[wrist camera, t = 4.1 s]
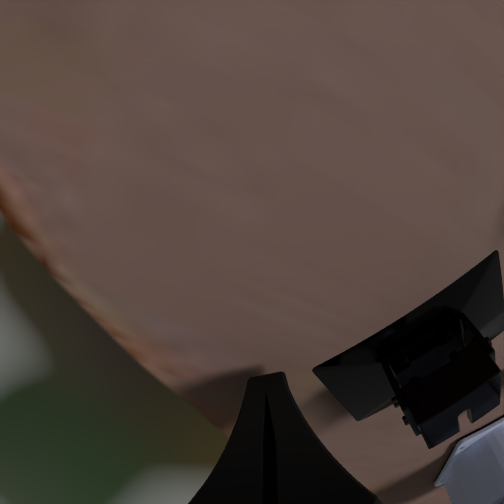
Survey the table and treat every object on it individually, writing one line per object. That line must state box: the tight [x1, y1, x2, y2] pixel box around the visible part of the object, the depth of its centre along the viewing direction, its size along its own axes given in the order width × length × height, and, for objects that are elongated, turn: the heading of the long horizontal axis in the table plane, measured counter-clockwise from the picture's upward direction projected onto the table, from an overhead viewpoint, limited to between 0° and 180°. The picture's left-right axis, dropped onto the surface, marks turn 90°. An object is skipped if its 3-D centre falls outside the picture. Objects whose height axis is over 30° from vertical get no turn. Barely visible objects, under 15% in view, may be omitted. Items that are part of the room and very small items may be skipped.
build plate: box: [312, 250, 504, 449], centre depth 11 cm, size 12×7×5 cm, turn 124°
